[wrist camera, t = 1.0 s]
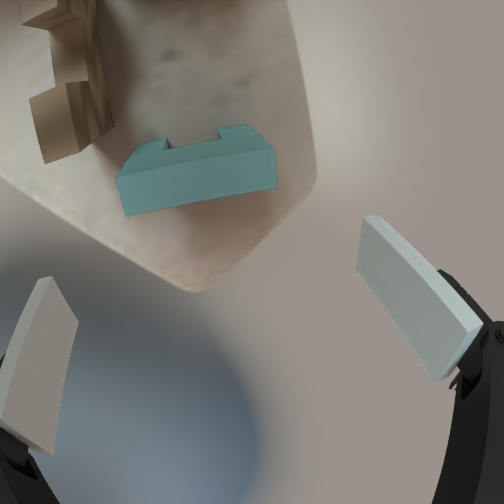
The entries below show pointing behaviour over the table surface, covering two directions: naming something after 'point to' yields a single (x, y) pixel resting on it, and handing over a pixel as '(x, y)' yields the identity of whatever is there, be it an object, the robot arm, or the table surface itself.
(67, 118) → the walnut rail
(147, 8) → the table surface
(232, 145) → the notched teal block
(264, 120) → the table surface
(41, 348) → the robot arm
